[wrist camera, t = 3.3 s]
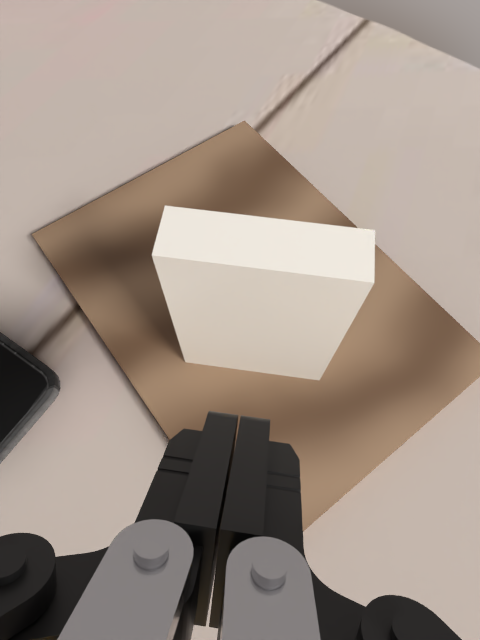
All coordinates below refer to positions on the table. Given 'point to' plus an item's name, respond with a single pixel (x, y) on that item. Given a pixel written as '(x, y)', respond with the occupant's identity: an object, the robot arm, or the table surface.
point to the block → (261, 288)
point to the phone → (22, 393)
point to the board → (248, 386)
